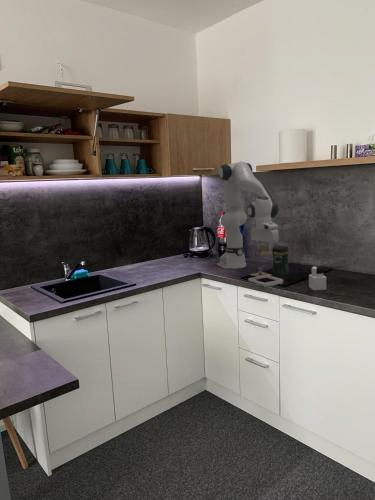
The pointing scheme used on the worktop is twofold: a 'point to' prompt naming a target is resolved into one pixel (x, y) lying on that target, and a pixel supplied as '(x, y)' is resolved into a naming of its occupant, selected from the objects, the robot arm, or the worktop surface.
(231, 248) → the robot arm
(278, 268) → the coffee jar
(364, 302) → the worktop surface
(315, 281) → the medicine bottle
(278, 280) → the tray
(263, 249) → the collar
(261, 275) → the stake
